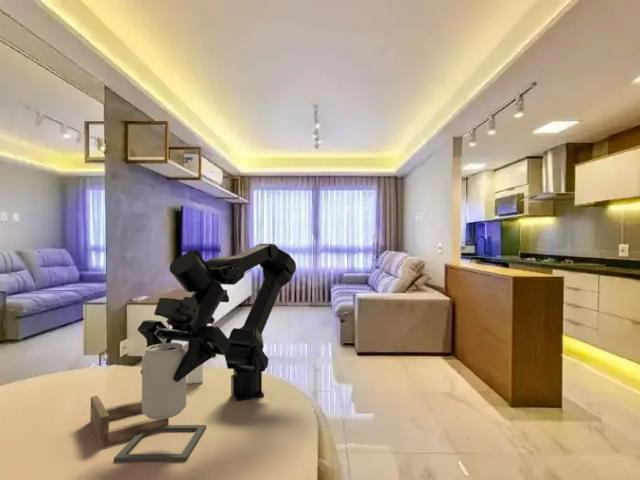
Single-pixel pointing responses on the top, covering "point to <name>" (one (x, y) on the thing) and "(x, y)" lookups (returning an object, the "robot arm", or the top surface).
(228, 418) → the top surface
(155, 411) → the can
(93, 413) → the dock
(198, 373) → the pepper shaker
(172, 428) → the holster frame
